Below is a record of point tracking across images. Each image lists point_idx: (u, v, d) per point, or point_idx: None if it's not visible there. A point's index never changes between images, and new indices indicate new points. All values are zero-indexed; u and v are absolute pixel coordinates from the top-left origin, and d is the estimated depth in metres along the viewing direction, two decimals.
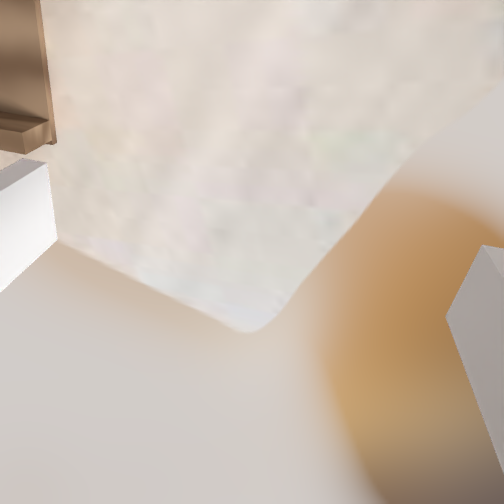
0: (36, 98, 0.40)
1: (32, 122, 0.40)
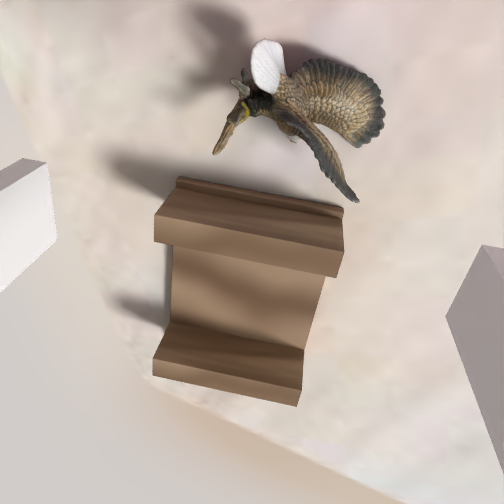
0: (296, 331, 0.35)
1: (293, 359, 0.35)
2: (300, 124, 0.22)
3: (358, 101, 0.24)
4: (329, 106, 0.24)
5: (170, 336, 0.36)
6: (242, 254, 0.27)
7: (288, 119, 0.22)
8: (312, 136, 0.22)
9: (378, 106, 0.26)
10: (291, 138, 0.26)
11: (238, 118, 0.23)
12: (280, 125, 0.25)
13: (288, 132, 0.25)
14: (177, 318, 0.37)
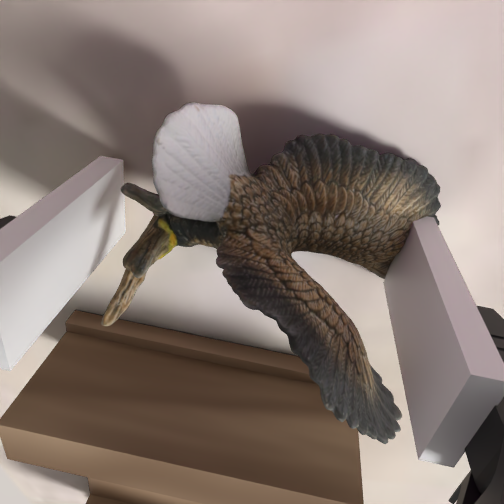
0: None
1: None
2: (276, 299, 0.09)
3: (398, 215, 0.12)
4: (340, 230, 0.12)
5: None
6: (168, 489, 0.14)
7: (248, 290, 0.09)
8: (304, 326, 0.10)
9: (434, 214, 0.13)
10: None
11: (146, 263, 0.11)
12: None
13: None
14: (100, 491, 0.24)
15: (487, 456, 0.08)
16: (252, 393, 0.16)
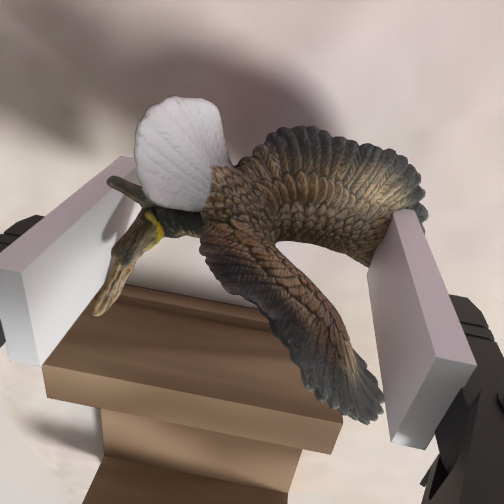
0: (276, 472, 0.26)
1: None
2: (257, 285, 0.10)
3: (379, 204, 0.12)
4: (322, 219, 0.12)
5: (102, 483, 0.26)
6: (183, 418, 0.17)
7: (229, 276, 0.10)
8: (284, 310, 0.10)
9: (416, 203, 0.13)
10: None
11: (133, 254, 0.11)
12: None
13: None
14: (113, 452, 0.27)
15: (453, 438, 0.08)
16: (251, 343, 0.19)
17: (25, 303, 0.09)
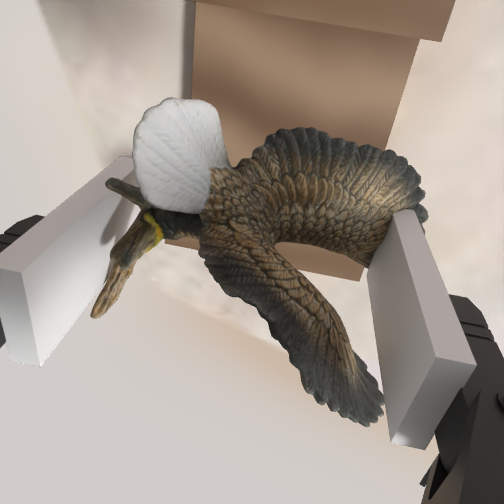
0: None
1: None
2: (256, 287, 0.10)
3: (379, 205, 0.12)
4: (321, 220, 0.12)
5: None
6: (301, 8, 0.18)
7: (228, 278, 0.10)
8: (284, 312, 0.10)
9: (415, 204, 0.13)
10: None
11: (132, 256, 0.11)
12: None
13: None
14: None
15: (453, 438, 0.08)
16: None
17: (25, 303, 0.09)
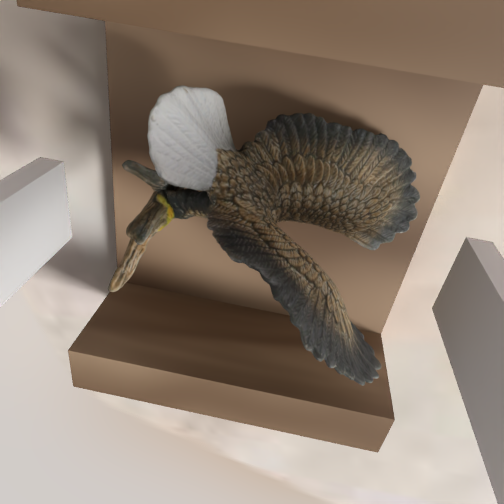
0: (368, 295, 0.17)
1: None
2: (259, 255, 0.11)
3: (372, 185, 0.13)
4: (319, 199, 0.13)
5: (115, 307, 0.18)
6: (274, 28, 0.09)
7: (234, 247, 0.11)
8: (285, 278, 0.11)
9: (408, 185, 0.14)
10: None
11: (147, 232, 0.12)
12: None
13: None
14: None
15: None
16: None
17: None
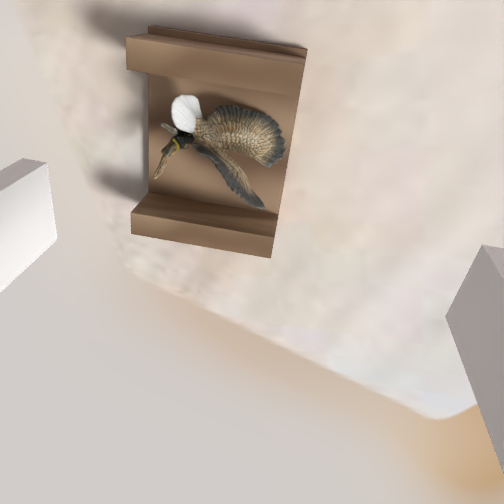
0: (269, 192, 0.37)
1: (267, 219, 0.37)
2: (211, 154, 0.30)
3: (260, 133, 0.33)
4: (237, 138, 0.32)
5: (148, 200, 0.37)
6: (209, 76, 0.28)
7: (202, 151, 0.30)
8: (220, 162, 0.30)
9: (278, 135, 0.34)
10: None
11: (169, 151, 0.32)
12: None
13: (210, 159, 0.33)
14: (155, 187, 0.38)
15: None
16: (250, 50, 0.30)
17: None
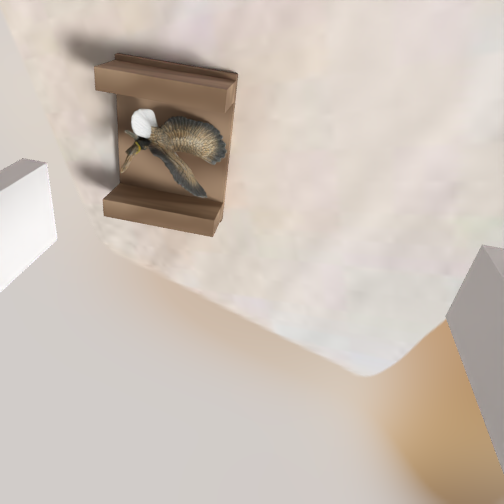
0: (215, 185, 0.46)
1: (212, 206, 0.46)
2: (162, 155, 0.39)
3: (203, 138, 0.42)
4: (185, 142, 0.41)
5: (118, 190, 0.46)
6: (157, 96, 0.38)
7: (155, 152, 0.39)
8: (169, 161, 0.39)
9: (220, 140, 0.43)
10: None
11: (131, 152, 0.41)
12: None
13: None
14: (125, 179, 0.47)
15: None
16: (192, 75, 0.39)
17: None
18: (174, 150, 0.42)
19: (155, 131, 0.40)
